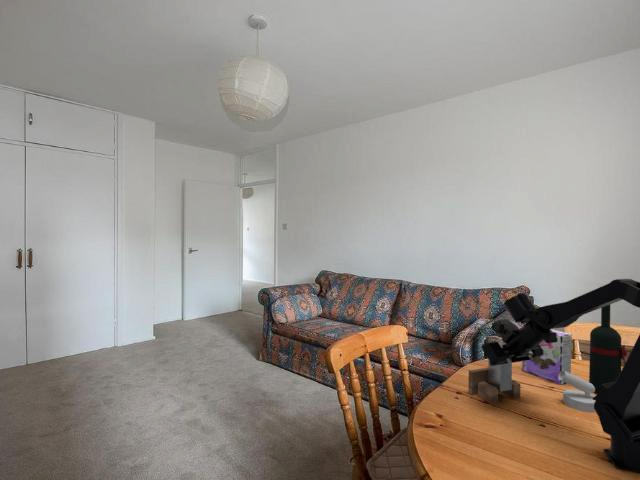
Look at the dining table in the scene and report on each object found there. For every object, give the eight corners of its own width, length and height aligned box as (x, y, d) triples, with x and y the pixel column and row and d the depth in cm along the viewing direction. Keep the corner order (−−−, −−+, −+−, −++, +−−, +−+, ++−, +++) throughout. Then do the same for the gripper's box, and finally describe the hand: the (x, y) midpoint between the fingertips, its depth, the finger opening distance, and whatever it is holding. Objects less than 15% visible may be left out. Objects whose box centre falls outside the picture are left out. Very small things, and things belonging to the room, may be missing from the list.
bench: (523, 396, 107) (523, 373, 107) (487, 403, 102) (488, 379, 102) (502, 386, 114) (502, 365, 114) (468, 393, 109) (468, 370, 109)
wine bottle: (629, 402, 104) (631, 300, 103) (586, 391, 111) (588, 296, 110) (632, 394, 109) (633, 297, 109) (591, 384, 116) (592, 293, 116)
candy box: (521, 370, 128) (521, 325, 128) (531, 368, 131) (532, 323, 131) (560, 385, 116) (561, 335, 116) (571, 382, 118) (572, 333, 118)
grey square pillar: (511, 389, 106) (511, 346, 106) (500, 391, 104) (500, 347, 104) (499, 383, 110) (499, 341, 110) (488, 385, 108) (488, 343, 108)
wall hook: (552, 365, 107) (590, 367, 105) (552, 396, 108) (589, 399, 106) (566, 376, 99) (607, 379, 97) (566, 410, 99) (606, 413, 97)
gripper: (534, 310, 106) (503, 337, 117) (486, 314, 100) (458, 342, 110) (560, 343, 99) (524, 369, 109) (510, 350, 92) (477, 377, 103)
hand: (496, 363), depth 108 cm, fingers closed on grey square pillar, 4 cm apart
